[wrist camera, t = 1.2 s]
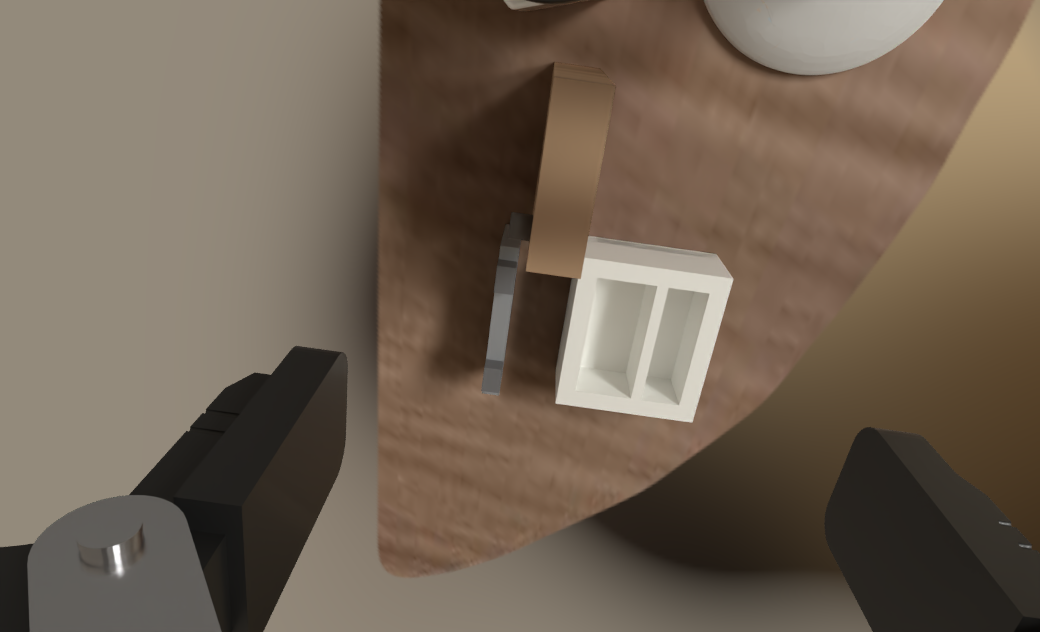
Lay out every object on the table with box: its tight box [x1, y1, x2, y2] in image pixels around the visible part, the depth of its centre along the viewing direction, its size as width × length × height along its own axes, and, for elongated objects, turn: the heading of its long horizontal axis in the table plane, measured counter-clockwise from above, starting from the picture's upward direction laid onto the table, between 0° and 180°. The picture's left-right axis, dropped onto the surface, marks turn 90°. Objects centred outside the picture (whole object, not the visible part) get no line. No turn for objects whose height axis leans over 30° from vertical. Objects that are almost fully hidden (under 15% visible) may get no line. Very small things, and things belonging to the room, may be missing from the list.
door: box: [508, 62, 616, 279], centre depth 31 cm, size 8×3×10 cm, turn 172°
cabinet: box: [481, 224, 733, 422], centre depth 38 cm, size 9×12×5 cm
